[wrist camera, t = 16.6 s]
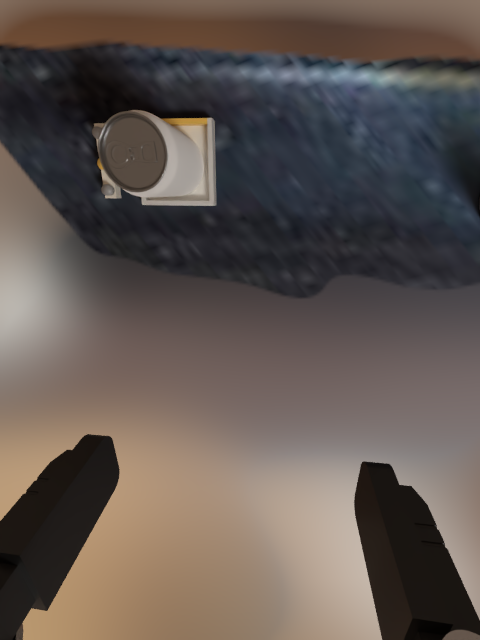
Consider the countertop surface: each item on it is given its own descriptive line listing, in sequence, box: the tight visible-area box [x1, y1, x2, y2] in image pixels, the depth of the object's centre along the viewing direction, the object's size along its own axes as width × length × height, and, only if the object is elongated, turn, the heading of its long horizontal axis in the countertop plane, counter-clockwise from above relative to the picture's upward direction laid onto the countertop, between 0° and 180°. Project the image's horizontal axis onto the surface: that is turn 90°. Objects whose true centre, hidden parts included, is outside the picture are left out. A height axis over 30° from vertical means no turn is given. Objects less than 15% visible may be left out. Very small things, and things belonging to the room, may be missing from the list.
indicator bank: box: [92, 123, 121, 198], centre depth 35 cm, size 1×8×2 cm, turn 179°
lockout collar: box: [141, 118, 216, 206], centre depth 34 cm, size 9×9×2 cm
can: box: [98, 110, 204, 197], centre depth 29 cm, size 6×6×12 cm
